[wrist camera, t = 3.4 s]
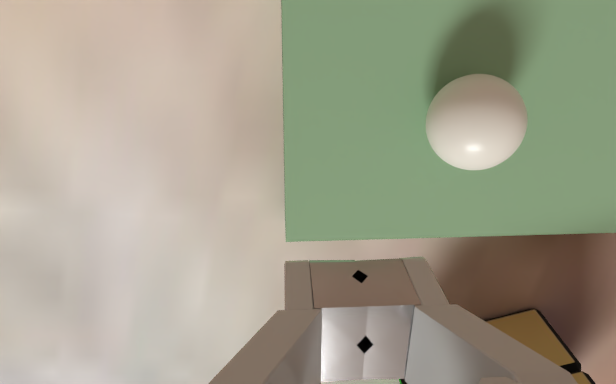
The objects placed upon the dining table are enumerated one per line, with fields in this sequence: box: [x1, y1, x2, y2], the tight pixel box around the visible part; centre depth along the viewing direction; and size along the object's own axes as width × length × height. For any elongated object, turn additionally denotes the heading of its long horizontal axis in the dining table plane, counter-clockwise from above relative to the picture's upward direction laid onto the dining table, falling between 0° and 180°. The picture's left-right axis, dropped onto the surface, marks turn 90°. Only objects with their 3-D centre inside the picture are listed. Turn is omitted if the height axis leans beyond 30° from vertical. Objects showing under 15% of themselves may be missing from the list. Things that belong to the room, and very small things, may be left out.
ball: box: [425, 74, 528, 170], centre depth 19 cm, size 4×4×4 cm
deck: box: [281, 0, 616, 242], centre depth 22 cm, size 14×26×2 cm, turn 90°
